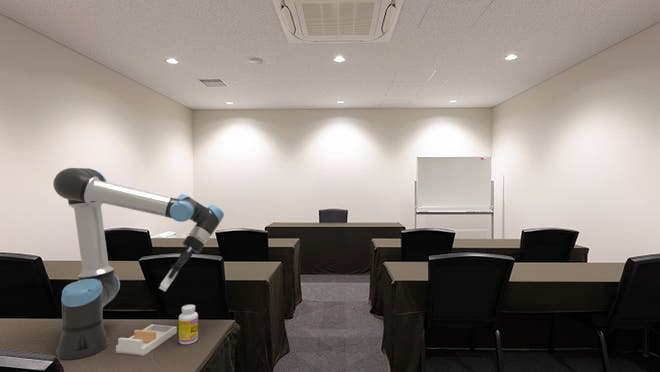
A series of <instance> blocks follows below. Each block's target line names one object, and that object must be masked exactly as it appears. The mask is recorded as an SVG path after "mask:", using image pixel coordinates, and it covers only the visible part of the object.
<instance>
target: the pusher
mask: <svg viewBox="0 0 660 372" xmlns="http://www.w3.org/2000/svg"><path fill="white" fill-rule="evenodd" d="M133 335H134V339H139V340H143V343H150V342H152V341H153V340H155V339H156V332H155V331H145V330H143V329H135V330H133Z"/></svg>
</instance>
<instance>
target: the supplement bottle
mask: <svg viewBox="0 0 660 372" xmlns="http://www.w3.org/2000/svg"><path fill="white" fill-rule="evenodd" d="M181 312H182V313H180V314H179V316H178V343H180V344H181V345H191V344H193V343H194V344H195V342H197V341H198V339H199V314H198V312H196V305H195V304H184V305H183V306H181Z"/></svg>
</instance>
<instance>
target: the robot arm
mask: <svg viewBox="0 0 660 372" xmlns="http://www.w3.org/2000/svg"><path fill="white" fill-rule="evenodd" d="M53 188H54V191H55V193H56V194H57V195H59V197H61V198H63V199H65V200H67V201H68V202H67V203H68V206H69V207H71V208H73V209H74V210H73V212H74V216H75V217H74V218H75V225H76V231H77V238H78V247H79V253H80V254H79V256H80V262H81V271H80V273H79V274H78V280H77V281H73V282H71V283H69V284H67V285H66V286H65V287H64V288H63V289H62V291H61V316H62V317H61V322H62V332H61V334H60V338H59V343H58V344H57V347H56V351H55V353H56V355H55V356H56V357H57V359H61V360H76V359H77V360H78V359H82V358H87V357H89V356H92V355H94V354H98V353H100V352H101V351H103V350H105V349H106V348H107V347H108V346H109V334H107V330H106V328H105V326H104V324H103V308H104V307H105V306H106V305H107V304H109V303H110V302H111V301H112V300H114V298H116V296H117V295H118V293H119V290H120V289H121V288H120V286H121V282H120V279H119V277H118V276H117V275H116V274H115V270H114V267H112V266H111V265H110V264H109V259H108V257H109V256H108V250H107V241H106V236H105V235H106V234H105V226H104V221H103V214H102V205H103V204H106V205H110V206H116V207H120V208H123V209H128V210H132V211H136V212H141V213H146V214H151V215H154V216H161V217H165V218H169V219H172V220H174V221H176V222H178V223H179V222H180V223H181V222H183V223H184V222H187V221H189V220H190V221H192V222H194V223H195V225H194V227H193V228H192V229H191V231H190V232H189V233H188V236H186V238H185V239H184V241H183V242H182V245H183V246H184V247H185V249H182V251H181V252H180V255H179V256H178V258H177V260H176V262H175V263H174V264H171V266H170V270H169V271H168V273H167V274H166V276H165V277H164V278H163V280H162V281H161V283H160V285H159V287H158V289H160V290H161V291H163V292H166V291H167V290H168V288H169V287H170V285H171V284H172V282H173V281H174V279H175V278H177V277H178V276H179V275H178V273H179V272H180V270H181V269H182V268H183V266H184V265H185V264H187V262H188V261H189V260H190V259H191V258H192V256H193V254H192V252H193V253H196V254H199V253H201V252H202V249H203V248H204V246H205V244H207V242H208V241H210V240H211V238H210V237H211V236H212V235H213V234H214V232H215V230H216V229H217V228H218V226H219V224H221V222H222V220H223V218H224V216H225V214H224V211H223V210H222V209H221V208H219V207H218V206H216V205H212V204H210V205H209V206H208V207H206V206H204V205H203V204H201V203H200V202H198V201H196V200H195V199H193V198H191V197H190V196H189V195H187V194H185V193H181V194H179V195H178V197H176V198H175V197H171V196H167V195H162V194H158V193H154V192H149V191H145V190H141V189H137V188H133V187H129V186H124V185H119V184H116V183H112V182H108V181H107V179H106V178H105V176H104V174H103V173H101V171H98V170H96V169H92V168H87V167H85V168H84V167H83V168H82V167H81V168H80V167H78V168H77V167H68V168H65V169H62V170H61V171H59V172H58V173H57V174H56V176H55V177H54V179H53Z"/></svg>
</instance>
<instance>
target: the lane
mask: <svg viewBox="0 0 660 372" xmlns="http://www.w3.org/2000/svg"><path fill="white" fill-rule="evenodd" d="M177 328H178V327H177V326H175V325H174V326H173V325H164V324H163V325H162V324H161V325H160V324H155V323H154V324H153V323H152V324H150V325H148V326H146V327H145V328H143V329H142V330H145V331H155V332H156V339H155V340H153V341H152V342H150V343H143V340H139V339H134V334H133V335H132V336H130V337H129V338H127V337H119V338H118V341H117V342H118V343H117V344H116V345H115V353H116V354H124V355H133V356H141V357H143V356H146V355H147V354H149V353H150V352H151V351H153V350H154V349H157V347H159V346H160V345H161V344H163V343H164V342H166V341H168V340H169V339H170V338H171V337H173V336H175V335H176V334H177V333H178V329H177Z"/></svg>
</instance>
